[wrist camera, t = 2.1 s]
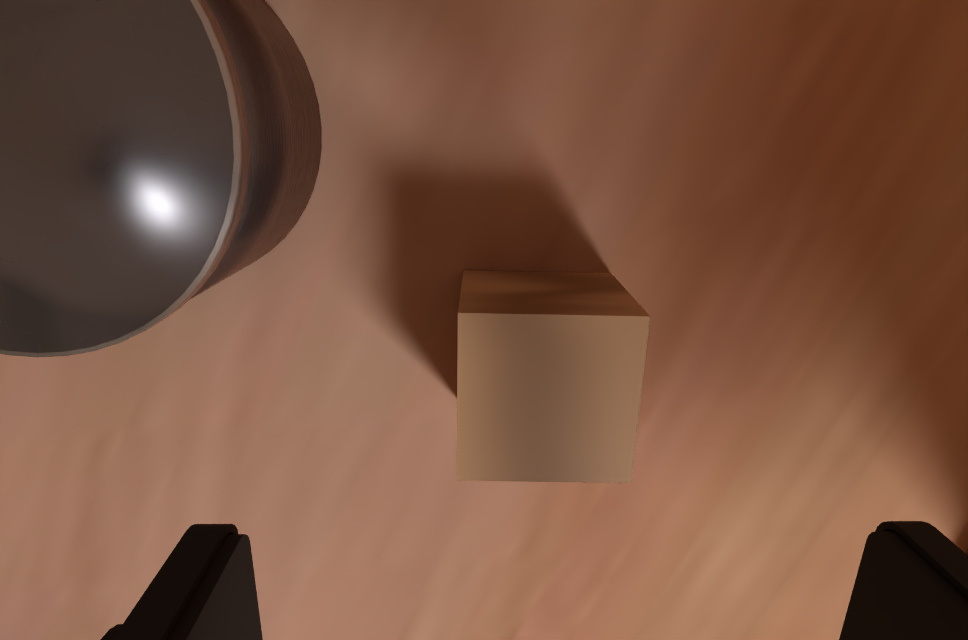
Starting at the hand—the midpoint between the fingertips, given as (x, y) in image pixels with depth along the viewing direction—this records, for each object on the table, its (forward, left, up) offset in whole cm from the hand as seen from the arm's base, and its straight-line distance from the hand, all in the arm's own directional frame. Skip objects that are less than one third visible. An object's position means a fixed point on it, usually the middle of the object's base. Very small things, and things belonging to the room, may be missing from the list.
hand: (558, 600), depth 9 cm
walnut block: (-1, 0, -12) cm, 12 cm away
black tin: (+11, -7, -12) cm, 18 cm away
